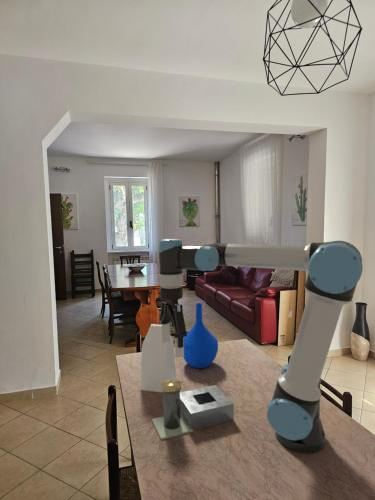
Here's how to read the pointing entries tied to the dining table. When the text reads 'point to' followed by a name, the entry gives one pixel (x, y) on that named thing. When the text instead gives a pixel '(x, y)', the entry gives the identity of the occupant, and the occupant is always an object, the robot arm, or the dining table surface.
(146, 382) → the milk
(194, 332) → the vase
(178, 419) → the grey and gold cylinder
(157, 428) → the mat
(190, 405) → the housing
